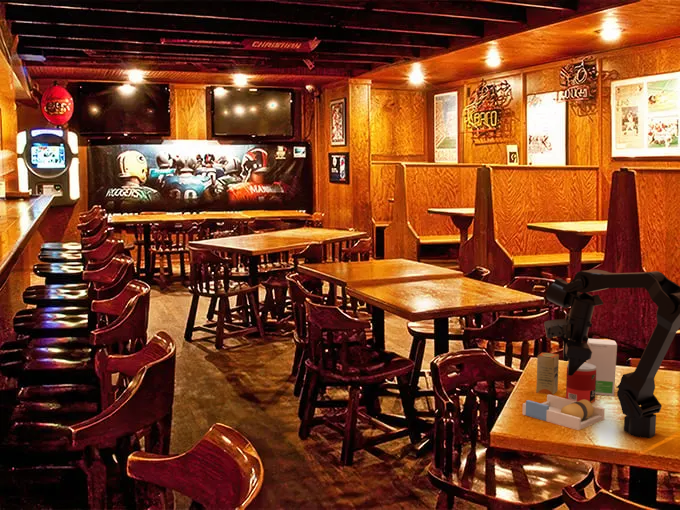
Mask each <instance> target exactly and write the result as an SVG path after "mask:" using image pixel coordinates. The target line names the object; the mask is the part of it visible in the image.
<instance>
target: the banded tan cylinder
mask: <svg viewBox="0 0 680 510" xmlns="http://www.w3.org/2000/svg"><path fill="white" fill-rule="evenodd" d="M593 406H594V405H593V403H590V402H589V401H588V400H584V399H583V400H580V401H577V402H574V403H571V404H569V405H567V406H564V407H563V408H562V409H561V413H564V414H568V415H572V416H575V417H579V418H581V421H582V420H584V419H586V418H589V417H591V416H592V415H593V412H594V408H593Z"/></svg>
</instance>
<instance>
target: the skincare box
mask: <svg viewBox="0 0 680 510" xmlns="http://www.w3.org/2000/svg"><path fill="white" fill-rule="evenodd" d="M586 343H587V344H588V345H589V347H590V348H591V351H592V355H591V359H588V360H586V361H585V363H589V364H592V365H595V366H596V391H595V395H601V396H602V395H603V396H611V397H613V396H615V388H616V387H615V383H616V369H617V352H618V344H617V342H616V340H611V339H601V338H589V337H588V341H586Z"/></svg>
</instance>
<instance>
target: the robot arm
mask: <svg viewBox="0 0 680 510" xmlns="http://www.w3.org/2000/svg"><path fill="white" fill-rule="evenodd" d="M608 289H644V290H646V291H647V293H648V295H649V297H650V299H651V301H652V302H653V303H654V304H655V305H656V306H657V310H656V312H655V313H656V324H655V327H654V330H653V331H652V334H651V336H650V338H649V341H647V342H648V343H647V344H646V346H645V348H644V350H643V352H642V355H641V357H640V359H639V361H638V363H637V365H636V368H635V370H634V371H632V372H628V373H624V374H623V375H622V376H621V378H620V381H619V383H618V385H617V386H616V387H615V388H616V389H617V392H616V397H617V398H618V399H617V400H618V401H619V403H620V407H621V411H622V415H624V420H623V432H625V433H627V434H629V435H630V436H632V437H636V438H642V439H651V438H654V437H655V436H656V427H657V426H656V424H657V413H660V412H661V409H662V406H663V405H662V403H660V401H659V399H658V398H657V397H656V396H655V394H654V393H655V389H656V385H655V377H656V375H657V373H658V371H659V369H660V367H661V365H662V362H663V361H664V358H665V357H666V355H667V352H668V351H669V348H670V347H671V344H672V343H673V341H674V338H675V336H676V334H677V332H678V331H679V329H680V285H679V284H677V283H675V282H674V281H673V280H671V279H670V278H668V277H667V276H666V275H665V274H663V272H660V271H658V270H655V271H653V270H652V271H646V272H645V271H644V272H642V271H641V272H616V273H615V272H609V271H606V270H601V269H588V270H580V271H577V272H576V274H575V275H574V277H573V279H572V280H570V281H569V282H568V281H566V280H564V279H563V278H560V277H559V278H558V277H557V278H554V281H553V283H551V284H550V286H549V287H548V289H547V290H546V292H545V296H546V299H547V300H548V301H549V302H551V303H553V304H555V305H557V306H560V307H561V308H563V309H569V308H570V310H569V313H567V314H566V315H565V318H561V319H560V318H559V319H558V318H557V319H551V320H546V321H544V322H543V325H544V330H545V335H546V338H547V339H553V338H558V337H560V339H561V340H562V345H563V346H562V348H563V349H562V350H563V351H562V354H563V355H562V356H563V357H562V358H563V359H562V361H564V362H568V363H567V364H568V375H570V376H572V375H573V374H574V373H575V372H576V371H577V370H578V369H579V367H580V366H581V365H582V364H583V363H586V360H588V359H591V355H592V351H591V348H590V347H589V345H588V344H587V341H588V338H589V336H588V333H589V329H590V328H592V327H593V323H592V317H593V314H594V309H595V306H601V305H604V301H603V300H602V299H601V298H600V295H599V294H594V295H592V294H590V293H594V292H599V291H602V290H608Z"/></svg>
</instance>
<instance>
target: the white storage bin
mask: <svg viewBox="0 0 680 510" xmlns="http://www.w3.org/2000/svg"><path fill="white" fill-rule="evenodd" d="M574 402H577V401H573V400H570V399H566V397H561V396H559V395H558V396H557V395H555V394H553V395H552V394H547V395H546V401H543V402H541V403H540V402H537V401H533V400H529V399H527V400H525V402H524V403H522V415H523V416H527V417H531V418H532V419H533V418H534V419H537V420H541V421H544V422H548V423H551V424H554V425H559V426H561V427H566V428H569V429H572V430H577V431H580V430H582V429H586V428H587V427H589V426H592V425H594V424H597V423H599V422H601V421H604V420H605V408H604V407H601V406H597V405H593V408H594V412H593V415H592V416H591V417H589V418H586V419H584V420H582V421H581V418H579V417H575V416H572V415H568V414H564V413H561V409H562V408H563V407H564V406H567V405H569V404H571V403H574Z"/></svg>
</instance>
